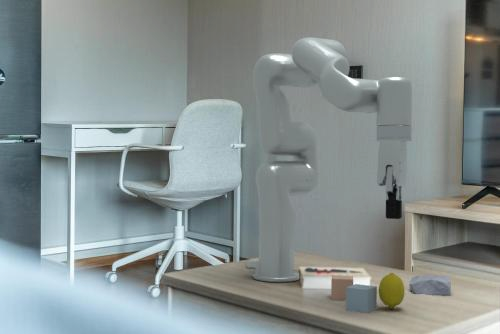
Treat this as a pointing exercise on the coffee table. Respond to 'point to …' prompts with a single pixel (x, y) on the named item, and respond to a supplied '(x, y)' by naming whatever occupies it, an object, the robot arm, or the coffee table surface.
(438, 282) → the stone block
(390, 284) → the lemon
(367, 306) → the slate block
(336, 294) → the terracotta block
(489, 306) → the coffee table surface
